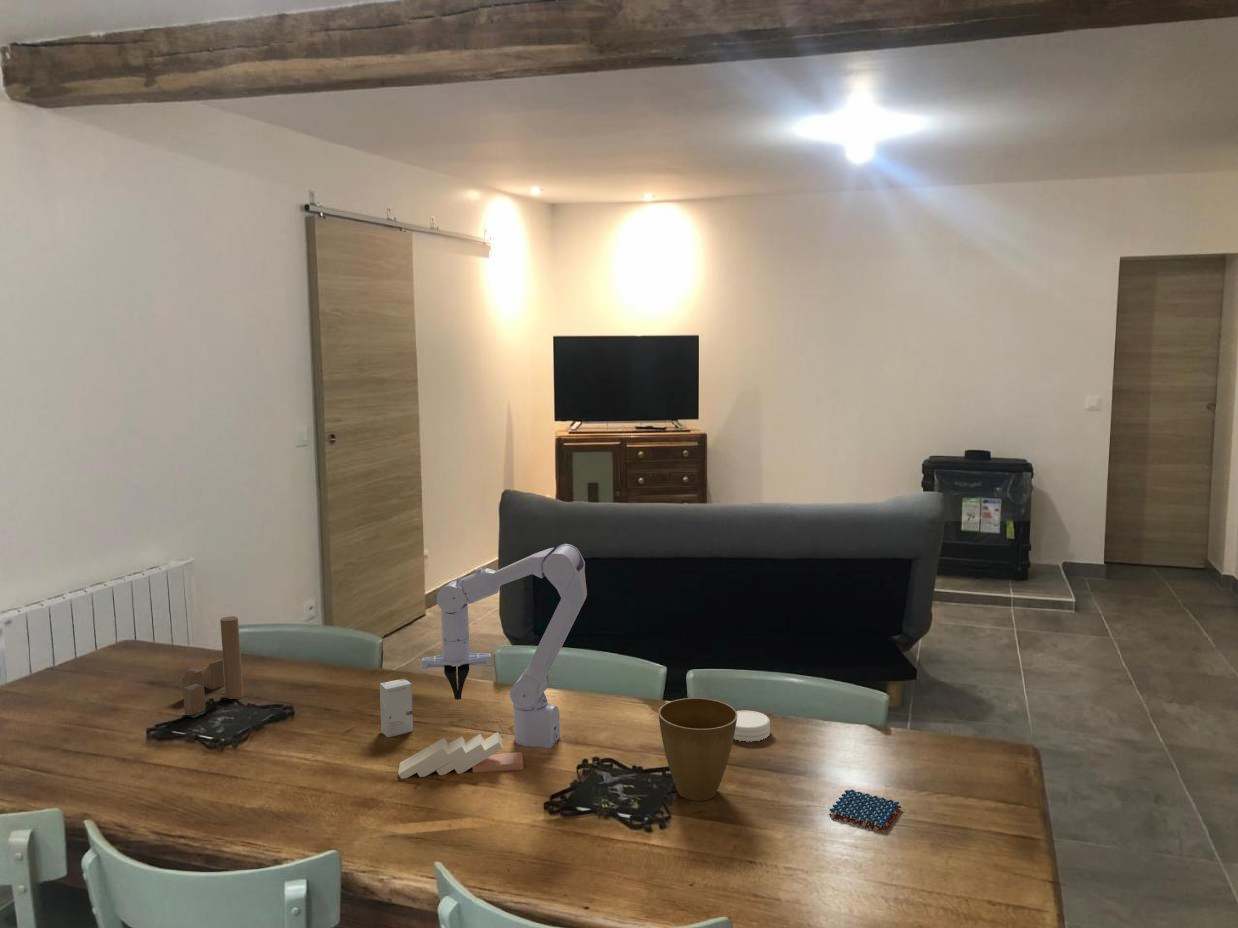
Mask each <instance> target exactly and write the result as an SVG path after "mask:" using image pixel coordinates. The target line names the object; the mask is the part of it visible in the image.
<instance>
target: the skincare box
mask: <svg viewBox="0 0 1238 928" xmlns="http://www.w3.org/2000/svg"><path fill="white" fill-rule="evenodd" d="M412 686H413V685H412V683H411V682H410V680H409V681H408V680H407V679H406V678H401V679H395V680H390V681H389V680H388V681H387V682H386V681H385V682H381V683H379V702H380V703H379V705H380V708H379V709H380V727H381V728H380V729H381V734H383V735H384V736H385V737H387V738H390V737H391V738H392V737H395V736H399V735H403V734H407V733H410V732H413V731H414V720H413V719H414V718H413V716H414V715H413V688H412Z"/></svg>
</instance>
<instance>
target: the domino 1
mask: <svg viewBox="0 0 1238 928" xmlns="http://www.w3.org/2000/svg"><path fill="white" fill-rule="evenodd" d="M448 744H449V743H448V742H447V739H445V737H443V738H441V739H439V740H437V741H435V742H434V743H432V744H431V745H428V746H427V747H425V748H423V749H421V750H420V751H418V752H417V753H414V754H413V755H411V756H410V757H408V758H406V759H404V760H402V761H401V762H399V767H398V768H399V769H398V776H399V777H400V779H401V780H402V779H408V778H409V777H411V776H413V775H415V774H418V773H417V772H418V771H420V770H422V769H424V768H425V767H427V766H429V765H431V764H432V763H434V762H436V761H438V760H439V759H441V758H443V757H445V756H446V755H448Z"/></svg>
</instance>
